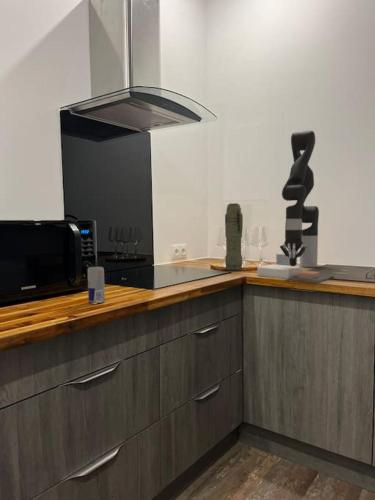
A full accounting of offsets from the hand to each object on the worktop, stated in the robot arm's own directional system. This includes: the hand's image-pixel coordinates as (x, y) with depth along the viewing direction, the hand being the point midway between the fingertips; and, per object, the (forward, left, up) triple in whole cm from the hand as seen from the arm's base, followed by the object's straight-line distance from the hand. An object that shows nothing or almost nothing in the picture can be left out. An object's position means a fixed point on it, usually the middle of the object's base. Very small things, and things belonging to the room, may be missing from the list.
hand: (293, 266), depth 177 cm
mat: (0, +9, -5) cm, 10 cm away
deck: (0, -7, -5) cm, 9 cm away
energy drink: (+89, -29, -5) cm, 94 cm away
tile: (0, +7, -2) cm, 8 cm away
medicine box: (-15, -12, -5) cm, 20 cm away
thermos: (-4, -36, -5) cm, 36 cm away
